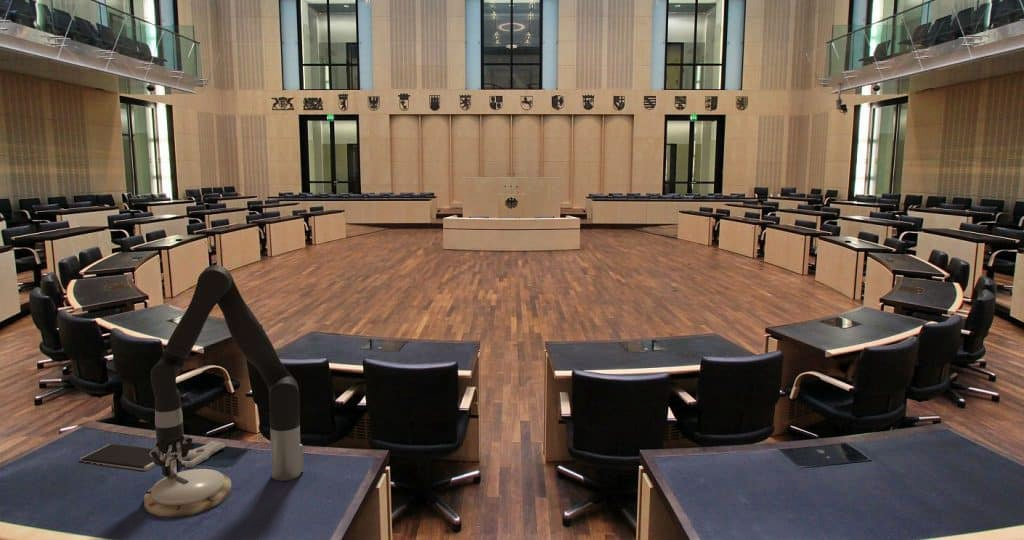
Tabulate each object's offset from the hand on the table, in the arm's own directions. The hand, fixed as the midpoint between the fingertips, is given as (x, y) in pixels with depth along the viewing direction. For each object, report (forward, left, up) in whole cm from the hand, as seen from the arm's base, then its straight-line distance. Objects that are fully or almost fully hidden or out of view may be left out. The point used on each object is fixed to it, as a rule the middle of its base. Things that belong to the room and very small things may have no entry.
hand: (172, 473), depth 197 cm
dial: (0, +8, -3) cm, 9 cm away
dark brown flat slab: (-3, -33, -6) cm, 34 cm away
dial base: (0, +8, -5) cm, 10 cm away
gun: (-17, -14, -6) cm, 23 cm away
